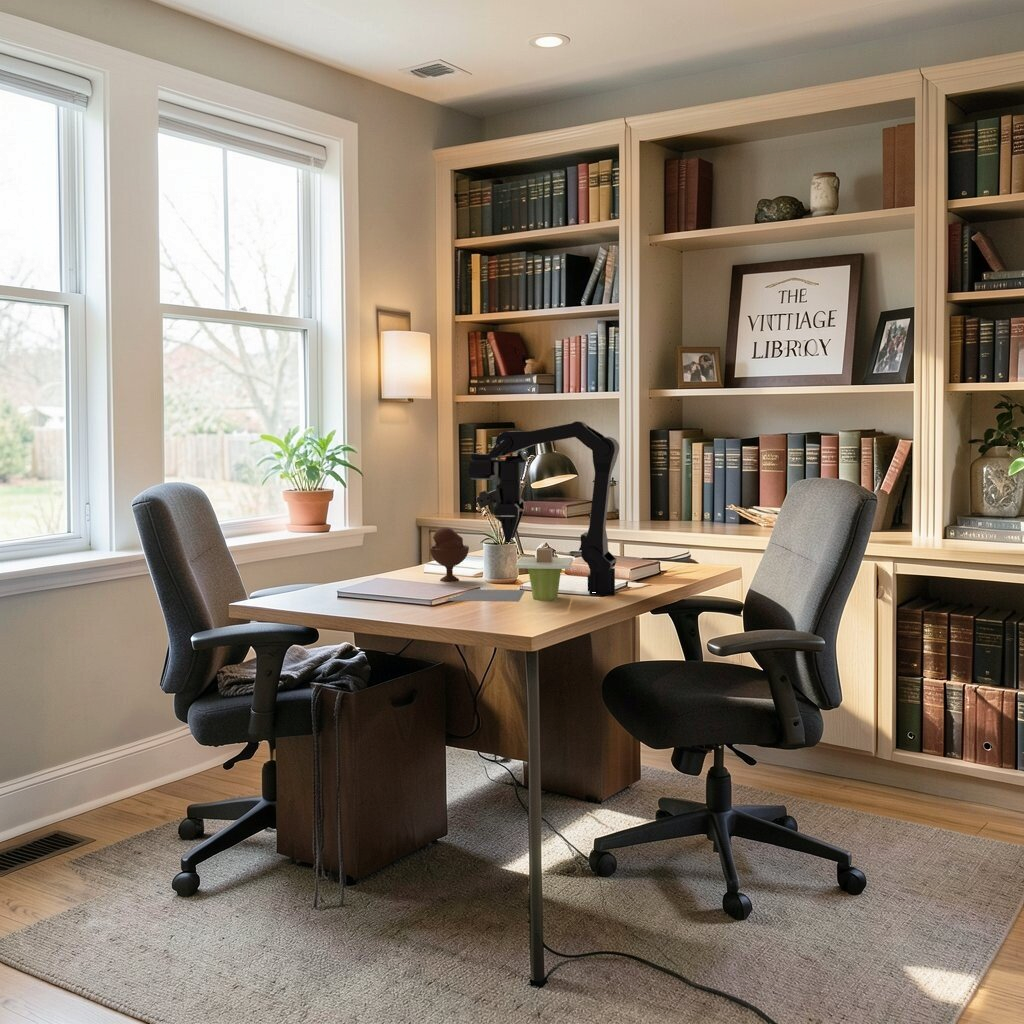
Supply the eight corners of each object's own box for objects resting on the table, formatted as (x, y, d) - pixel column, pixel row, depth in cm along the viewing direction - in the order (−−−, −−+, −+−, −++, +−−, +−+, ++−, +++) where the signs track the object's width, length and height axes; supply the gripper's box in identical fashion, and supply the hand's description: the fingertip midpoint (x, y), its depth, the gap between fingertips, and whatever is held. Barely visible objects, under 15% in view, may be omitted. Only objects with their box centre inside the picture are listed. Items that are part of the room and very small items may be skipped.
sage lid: (572, 560, 271) (572, 545, 271) (569, 568, 258) (569, 553, 258) (521, 560, 273) (521, 545, 272) (515, 568, 260) (515, 552, 259)
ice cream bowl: (464, 585, 288) (464, 529, 286) (424, 584, 290) (423, 528, 288) (474, 578, 298) (473, 524, 297) (435, 577, 300) (434, 524, 299)
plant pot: (523, 602, 262) (523, 567, 261) (528, 595, 272) (528, 561, 271) (561, 603, 261) (561, 567, 260) (565, 596, 270) (565, 562, 269)
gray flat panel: (524, 591, 278) (524, 589, 278) (518, 602, 262) (518, 601, 262) (456, 590, 280) (455, 589, 280) (445, 601, 264) (445, 600, 264)
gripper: (483, 477, 287) (483, 535, 289) (473, 482, 269) (473, 544, 271) (524, 477, 286) (525, 535, 288) (517, 482, 268) (517, 544, 269)
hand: (509, 540), depth 279 cm, fingers open, 9 cm apart
